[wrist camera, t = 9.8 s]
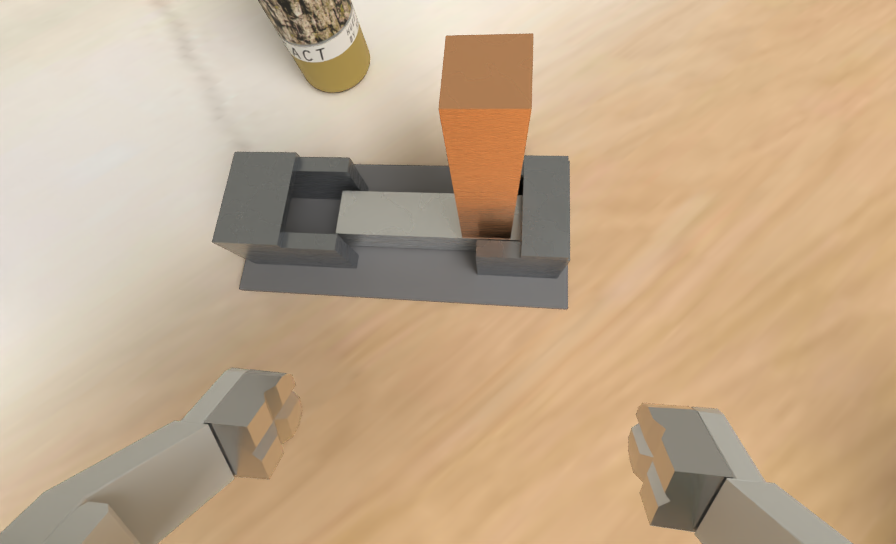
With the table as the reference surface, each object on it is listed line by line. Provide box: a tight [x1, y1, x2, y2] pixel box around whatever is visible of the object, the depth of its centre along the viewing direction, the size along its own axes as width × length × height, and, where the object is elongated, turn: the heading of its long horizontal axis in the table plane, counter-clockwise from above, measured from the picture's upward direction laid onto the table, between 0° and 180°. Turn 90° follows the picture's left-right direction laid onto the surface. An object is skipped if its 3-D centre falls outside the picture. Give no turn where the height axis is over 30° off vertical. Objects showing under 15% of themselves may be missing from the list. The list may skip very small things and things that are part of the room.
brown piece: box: [336, 34, 533, 251], centre depth 23 cm, size 15×4×17 cm, turn 85°
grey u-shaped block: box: [212, 152, 369, 269], centre depth 30 cm, size 9×7×5 cm
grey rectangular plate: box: [239, 164, 568, 309], centre depth 32 cm, size 27×12×1 cm, turn 85°
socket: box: [476, 156, 570, 279], centre depth 28 cm, size 6×7×5 cm
